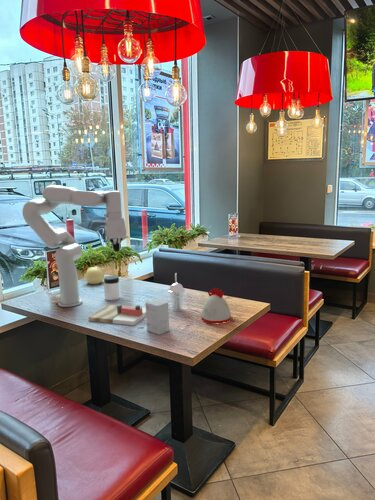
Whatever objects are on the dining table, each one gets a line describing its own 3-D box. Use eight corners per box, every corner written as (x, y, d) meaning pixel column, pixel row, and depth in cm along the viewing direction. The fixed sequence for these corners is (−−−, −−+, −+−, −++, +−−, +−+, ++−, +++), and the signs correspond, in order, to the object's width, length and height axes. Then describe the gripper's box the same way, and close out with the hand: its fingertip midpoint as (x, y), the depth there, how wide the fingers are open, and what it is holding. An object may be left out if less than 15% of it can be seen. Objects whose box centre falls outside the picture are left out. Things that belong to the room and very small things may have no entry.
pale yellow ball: (107, 280, 255) (106, 264, 253) (100, 285, 243) (99, 268, 241) (90, 280, 256) (89, 264, 254) (83, 285, 245) (82, 268, 243)
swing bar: (121, 313, 186) (120, 305, 185) (124, 311, 188) (124, 303, 187) (139, 316, 181) (138, 307, 181) (142, 313, 184) (142, 305, 183)
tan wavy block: (88, 320, 183) (87, 310, 182) (108, 308, 200) (107, 298, 199) (113, 323, 179) (112, 312, 178) (130, 310, 196) (130, 300, 195)
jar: (108, 301, 211) (106, 280, 209) (102, 297, 218) (100, 277, 216) (123, 298, 216) (121, 277, 214) (117, 294, 223) (115, 274, 220)
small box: (169, 330, 169) (168, 302, 166) (159, 335, 164) (157, 306, 162) (157, 326, 174) (155, 298, 172) (146, 330, 169) (144, 302, 167)
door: (112, 323, 179) (112, 314, 179) (130, 310, 196) (129, 301, 195) (134, 325, 176) (133, 316, 175) (150, 311, 193) (149, 303, 192)
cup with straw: (187, 307, 198) (186, 269, 194) (182, 313, 189) (181, 273, 185) (171, 306, 200) (170, 268, 196) (166, 312, 191) (164, 273, 188)
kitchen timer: (222, 326, 172) (221, 294, 169) (195, 321, 179) (194, 289, 176) (235, 316, 183) (235, 286, 180) (210, 311, 190) (210, 282, 188)
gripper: (102, 217, 189) (105, 254, 192) (130, 214, 196) (132, 250, 200) (97, 216, 195) (100, 252, 198) (124, 213, 203) (127, 248, 206)
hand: (116, 251), depth 199 cm, fingers closed
